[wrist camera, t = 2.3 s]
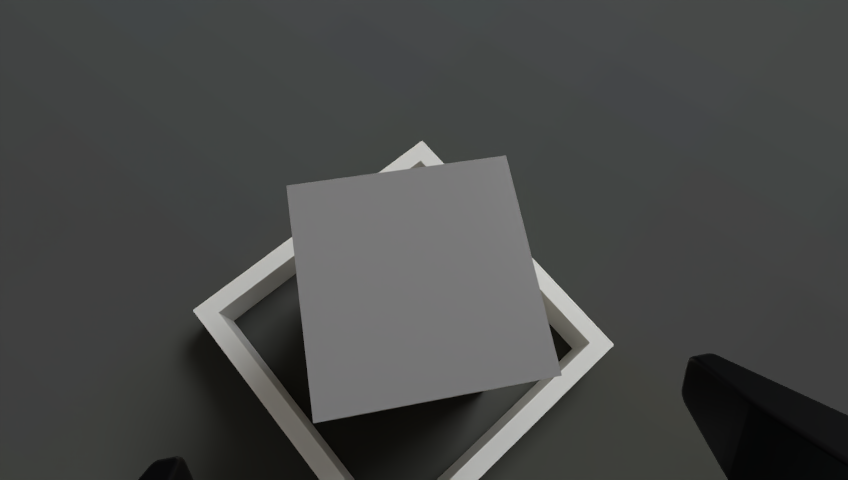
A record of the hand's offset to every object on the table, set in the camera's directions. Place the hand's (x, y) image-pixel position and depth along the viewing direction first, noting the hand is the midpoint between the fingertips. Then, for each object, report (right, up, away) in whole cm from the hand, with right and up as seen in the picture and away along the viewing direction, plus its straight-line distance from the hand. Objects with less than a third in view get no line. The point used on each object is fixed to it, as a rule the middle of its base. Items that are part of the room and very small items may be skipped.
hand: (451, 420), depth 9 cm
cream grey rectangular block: (-1, 0, +10) cm, 10 cm away
